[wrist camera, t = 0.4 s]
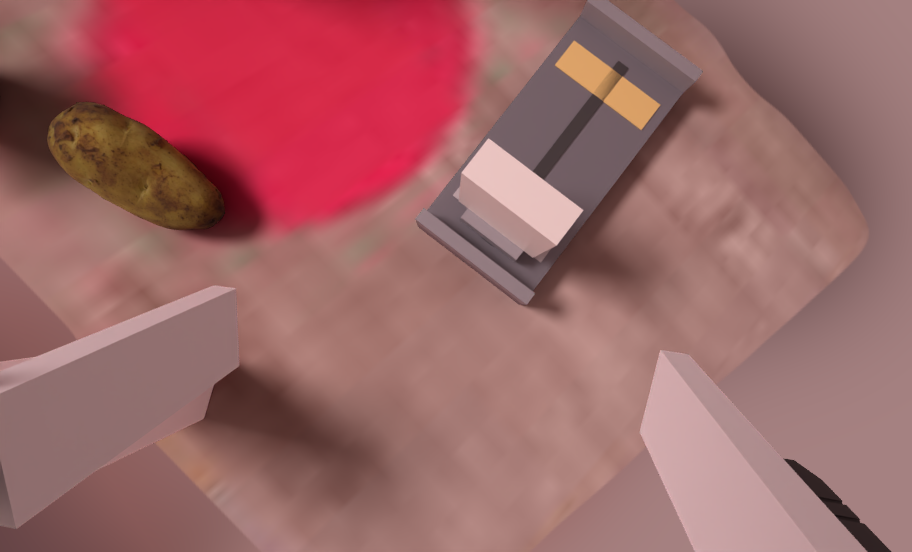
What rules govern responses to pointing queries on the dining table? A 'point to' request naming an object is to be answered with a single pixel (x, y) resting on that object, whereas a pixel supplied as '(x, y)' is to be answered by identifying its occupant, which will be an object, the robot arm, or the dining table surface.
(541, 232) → the fader knob
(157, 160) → the potato
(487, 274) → the fader deck
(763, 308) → the dining table surface
